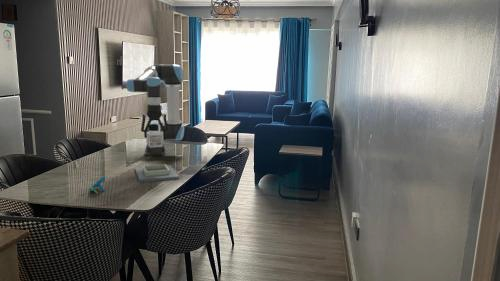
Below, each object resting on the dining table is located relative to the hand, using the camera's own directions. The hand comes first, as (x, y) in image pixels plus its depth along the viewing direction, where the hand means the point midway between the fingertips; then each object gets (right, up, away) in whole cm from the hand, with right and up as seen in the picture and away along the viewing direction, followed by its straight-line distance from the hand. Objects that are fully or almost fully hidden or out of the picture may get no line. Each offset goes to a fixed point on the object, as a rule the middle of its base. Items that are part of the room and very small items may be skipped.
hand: (154, 142), depth 224 cm
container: (0, -2, 0) cm, 2 cm away
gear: (-23, -25, -28) cm, 44 cm away
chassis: (0, -19, +4) cm, 19 cm away
